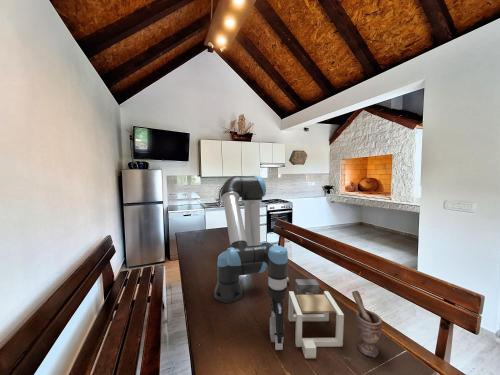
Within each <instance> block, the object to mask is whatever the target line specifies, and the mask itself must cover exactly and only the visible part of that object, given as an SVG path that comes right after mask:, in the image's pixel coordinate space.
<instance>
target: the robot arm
mask: <svg viewBox="0 0 500 375" xmlns="http://www.w3.org/2000/svg"><path fill="white" fill-rule="evenodd" d="M266 193H267V186H266V182H265V179H264V178H263V177H262V176H260V175H234V176H231V177H229V178H228V179H227V180H226V181H225V182H224V183H223V185H222V187H221V190H220V201H221V202H222V203H223V205H224V214H225V220H226V227H227V232H228V233H227V234H228V238H229V239H228V240H229V244H230V247H227V249H226V250H224V251H222V252H221V253H220V254H219V255H218V256H217V263H216V264H217V283H216V285H215V288H214V298H215V300H216V301H218V302H220V303H225V304H226V303H227V304H228V303H229V304H230V303H234V302H237V301H238V300H240V299H241V298H242V297H243V288H242V285H241V282H240V276H248V275H249V276H250V275H258V274H261V273H263V272H265V270H266V269H267V265H268V272H267V273H268V274H267V275H268V276H267V286H268V287H267V288H268V289H267V294H268V296H269V298H270V299H271V302H270V306H271V307H270V308H271V317H275V320H276V333H274V335H275V342H274V344H275V345H274V348H275V351H283V350H284V349H283V345H284V342H283V337H284V338H285V324H284V323H285V322H284V311H285V310H284V307H283V306H284V301H283V300H284V299H286V298H287V296H288V287H287V286H288V281H287V280H288V279H289V280H290V277H289V276H288V277H289V278H288V277H287V275H288V261H289V254H288V249H287V248H286V247H285V246H282V245H274V244H273V243H271V242H269V241H266V240H265V241H262V242H261V214H260V213H261V212H260V211H261V209H260V206H261V204H260V203H261V202H262V201H263V198H264V197H265V196H266V195H267V194H266ZM240 198H241V202H242V203H243V204H244V206H243V207H244V214H243V215H244V220H243V216H242V211H241V206H240V202H239V200H240Z"/></svg>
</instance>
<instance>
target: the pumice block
mask: <svg viewBox="0 0 500 375" xmlns="http://www.w3.org/2000/svg"><path fill="white" fill-rule="evenodd" d="M301 350H302V353H303V355H304V358H305V359H317V347H316V346H315V343H314V341H313V339H303V340H302V347H301Z"/></svg>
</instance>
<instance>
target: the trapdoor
mask: <svg viewBox="0 0 500 375" xmlns="http://www.w3.org/2000/svg"><path fill="white" fill-rule="evenodd" d="M294 281H295V282H294V283H295V284H294V289H295V290H296V293H297V294H295V297H296V300H297V302H298V305H299V307H300V310H301V313H302V314H323V313H329V314H330V313H332V314H333V313H335V314H336V312H335V311H334V309H333V307H332V306H331V304H330V303H329V301H328V299H327V298H326V296H325V295H324V294H320V288H321V285H320V283H319V282H318V280H317V278H315V279H313V278H312V279H311V278H307V279H302V278H301V279H300V278H297V279H295V280H294Z"/></svg>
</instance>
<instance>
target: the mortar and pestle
mask: <svg viewBox="0 0 500 375" xmlns="http://www.w3.org/2000/svg"><path fill="white" fill-rule="evenodd" d="M351 294H352V297H353V299H354V301H355V303H356V305H357V307H358V309H359V310H357V311H356V313H355V317H356V318H355V320H356V321H355V327H356V331H357V334H358V336H359V339H358V340H357V342H356V348H357V349H358V351H359V352H360V353H361V354H363V355H365V356H368V357H371V358H374V359H375V358H376V357H377V356H378V355H379V352H380V351H379V348H378V346H377V344H376V343H378V341H380V338H381V335H382V327H383V320H382V318H381V316H379V314H377V313H375V312H374V311H371V310H367V309H366V308H365V305H364V303H363V299H362V296H361V294H360V292H359V291H358V290H353V291H352V292H351Z"/></svg>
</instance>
